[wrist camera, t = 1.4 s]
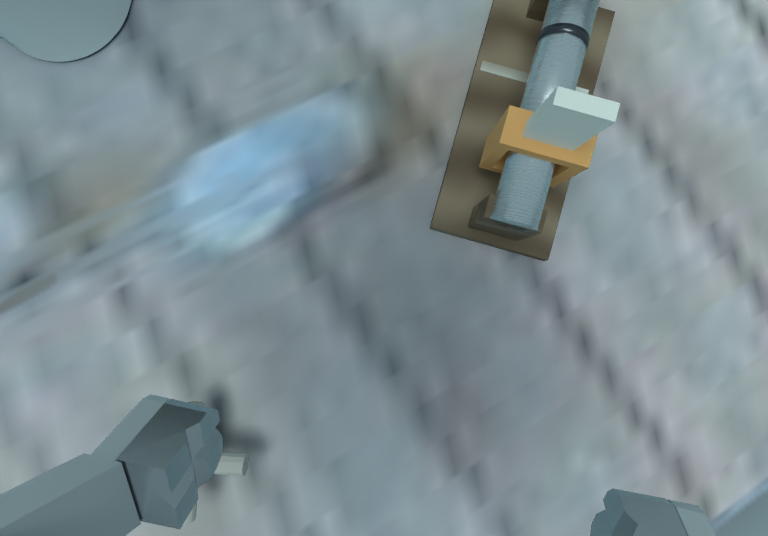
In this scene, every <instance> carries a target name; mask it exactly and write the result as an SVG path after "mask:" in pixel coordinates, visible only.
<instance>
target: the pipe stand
mask: <svg viewBox="0 0 768 536" xmlns="http://www.w3.org/2000/svg"><path fill="white" fill-rule="evenodd" d="M548 3H549V0H493V4H492V7H491V11H490V14H489V18H488V22H487V25H486V29H485V32H484V36H483V39H482V43H481V47H480V50H479V54H478V57H477V61H476V64H475V68H474V72H473V75H472V79H471V82H470V86H469V90H468V93H467V97H466V100H465V104H464V107H463V111H462V115H461V118H460V122H459V125H458V129H457V133H456V136H455V140H454V143H453V147H452V150H451V154H450V158H449V161H448V165H447V168H446V172H445V175H444V179H443V183H442V186H441V190H440V193H439V197H438V201H437V204H436V208H435V211H434V215H433V218H432V222H431V226H430V229H433V230H436V231H440V232H443V233H447V234H450V235H454V236H457V237H461V238H465V239H468V240H472V241H475V242H479V243H482V244H486V245H489V246H493V247H497V248H500V249H504V250H507V251H511V252H514V253H518V254H521V255H525V256H529V257H532V258H536V259H539V260H543V261H545V260H548V259H549V255H550V251H551V247H552V244H553V240H554V236H555V233H556V229H557V225H558V221H559V218H560V214H561V210H562V207H563V203H564V199H565V195H566V192H567V188H568V184H569V181H570V178H569V179H568V180H566V181H564V182H562V183H560V184H559V185H557V186H555V187H553V188H551V187H549V190H548V193H547V197H546V201H545V204H544V208H543V212H542V216H541V219H540V223H539V227H538V230H537V231H535V232H525V231H518V230H513V229H510V228H511V227H512V228H514V227H515V228H516V229H517V228H519V229H522V230H526V228H522V227H519V226H515V225H512V224H508V223H505V222H501V221H497V220H494V219H490V215H491V212H492V208H493V204H494V201H495V197H496V192H497V188H498V185H499V181H500V177H501V173H498V172H494V171H491V170H487V169H483V168H480V167H479V165H480V161H481V158H482V154H483V150H484V147H485V143H486V140H487V136H488V135H489V133H490V132H491V130H492V129H493V128H494V126H495V125H496V124H497V122H498V121H499V119H500V118H501V117H502V115H503V114H504V112H505V111H506V110H507V108H508V107H509V106H510V105H511V106H515V107H519V108H520V105H521V101H522V97H523V94H524V90H525V86H526V83H527V79H528V76H529V72H530V68H531V65H532V61H533V57H534V54H535V50H536V44H537V41H538V37H539V34H540V32H541V28H542V25H543V21H544V17H545V14H546V10H547V6H548ZM614 14H615V12H614V11H611V10H607V9H603V8H600V7H598V9H597V12H596V16H595V20H594V23H593V27H592V31H591V35H590V41H589V44H588V48H587V51H586V53H585V57H584V60H583V64H582V68H581V71H580V75H579V79H578V83H577V86H576V90H575V91H578V92H581V93H585V94H589V95H593V91H594V88H595V84H596V80H597V77H598V73H599V69H600V65H601V62H602V58H603V54H604V51H605V47H606V43H607V40H608V36H609V32H610V28H611V25H612V21H613V17H614ZM505 225H506V226H505ZM507 226H509V227H510V228H509V227H507ZM508 228H509V229H508Z"/></svg>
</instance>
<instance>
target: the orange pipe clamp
mask: <svg viewBox="0 0 768 536" xmlns="http://www.w3.org/2000/svg"><path fill="white" fill-rule="evenodd" d="M619 106H620V103H617V102H614V101H610V100H606V99H603V98H599V97H596V96H592V95H589V94H585V93H581V92H578V91H574V90H571V89H567V88H563V87H560V86H557V87H556V89H555V90H554V91H553V92H552V93H551V94H550V95H549V96H548V98H547V99H546V100H545V101H544V102H543V103H542V104H541V105H540V106H539V108H538V109H537V110H536V111H535V112H533V111H529V110H526V109H522V108H519V107H515V106H511V105H510V106H509V107H508V108H507V110H506V111H505V112H504V114H503V115H502V117H501V118H500V119H499V121H498V122H497V124H496V125H495V126H494V128H493V129H492V130H491V132H490V133H489V135H488V136H487V140H486V143H485V147H484V150H483V154H482V158H481V161H480V165H479V167H480V168H483V169H487V170H491V171H494V172H498V173H501V174H502V170H503V167H504V163H505V159H506V156H507V152H508V150H509V151H513V152H516V153H520V154H523V155H527V156H530V157H534V158H538V159H541V160H545V161H548V162H552V163H555V168H554V171H553V175H552V179H551V182H550V186H549V187H551V188H553V187H555V186H557V185H559V184H560V183H562V182H564V181H566V180H568V179H569V178H571V177H573V176H575V175H577V174H578V173H580V172H582V171H584V170H586V169H588V168H589V165H590V162H591V158H592V154H593V150H594V147H595V143H596V139H597V135H598V133H600V132H601V131H603V130H604V129H606V128H607V127H608V126H610V125H611V124H613V123H614V122H615V121H616V117H617V113H618V110H619Z"/></svg>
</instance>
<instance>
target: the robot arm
mask: <svg viewBox="0 0 768 536" xmlns="http://www.w3.org/2000/svg"><path fill="white" fill-rule="evenodd" d="M131 1H132V0H0V37H2V38H4V39H5V40H7V41H8V42H10V43H11V44H12V45H13V46H15V47H16V48H17V49H19V50H20V51H22V52H24V53H25V54H27V55H29V56H32V57H34V58H37V59H41V60H45V61H52V62H65V61H72V60H77V59H80V58H83V57H86V56H88V55H91V54H93V53H94V52H96V51H98V50H99V49H101V48H102V47H104V46H105V45H106V44H107V43H108V42H109V41H110V40H111V39H112V38H113V37H114V36H115V35H116V34H117V32H118V31H119V30H120V28H121V27H122V25H123V23H124V21H125V19H126V17H127V14H128V11H129V8H130V4H131ZM219 421H220V419H219V414H218V410H217V409H213V408H209V407H204V406H200V405H196V404H192V403H187V402H183V401H179V400H174V399H170V398H165V397H160V396H156V395H149V396H147V397H145V398H143V399H142V400H141V401H140V402H139V403H138V404H137V406H136V407H135V408H134V409H133V410H132V411H131V412H130V413H129V414H128V415H127V416H126V417H125V418H124V419H123V421H122V422H121V423H120V424H119V425H118V426H117V427H116V428H115V429H114V430H113V431H112V432H111V433H110V434H109V436H108V437H107V438H106V439H105V440H104V441H103V442H102V443H101V444H100V445H99V446H98V447H97V448H96V449H95V451H94V452H93V453H92V454H91V455H89V454H82V455H80V456H78V457H76V458H74V459H72V460H70V461H68V462H66V463H64V464H62V465H60V466H58V467H55V468H53V469H51V470H49V471H47V472H45V473H43V474H41V475H39V476H37V477H35V478H33V479H31V480H29V481H27V482H25V483H23V484H21V485H19V486H17V487H15V488H13V489H11V490H9V491H7V492H5V493H3V494H1V495H0V536H125V535H127V534H128V533H129V532H131V531H132V530H133V529H135V528H136V527H137V526H139V525H140V524H141V522H140V521H143V522H148V523H152V524H157V525H162V526H167V527H172V528H176V529H180V528H181V527H182V525H183V524H184V522H185V520H186V519H187V517H188V515H189V514H190V512H191V510H192V509H193V507H194V505H195V504H196V502H197V501H198V487H199V486H201V485H202V484H204V483H206V482H207V481H209V480H210V479H211V477H212V475H213V474H214V472H215V470H216V469H217V466H218V464H219V461H220V458H221V455H222V449H223V438H222V435H221V433H220V432H219V431H218V430H217V429H216V428H215V427H216V426H217V424H218V423H219ZM603 501H604V505H605V509H606V510H603V511H601V512H599V513H597V514H596V515H595V518H594V520H593V522H592V525H591V533H590V536H716V535H715V533H714V531H713V529H712V527H711V525H710V523H709V521H708V519H707V517H706V515H705V513H704V511H703V510H702V509H701V508H700V507H699V506H697V505H692V504H687V503H682V502H677V501H672V500H666V499H665V498H660V497H655V496H650V495H644V494H639V493H634V492H628V491H623V490H618V489H611V490H609V491H607V493H606V495H605V497H604V499H603Z"/></svg>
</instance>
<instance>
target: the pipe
mask: <svg viewBox="0 0 768 536" xmlns="http://www.w3.org/2000/svg"><path fill="white" fill-rule="evenodd" d="M599 1H600V0H549V3H548V6H547V10H546V14H545V17H544V21H543V25H542V28H541V32H540V34H539V37H538V41H537V44H536V50H535V54H534V57H533V61H532V65H531V68H530V72H529V76H528V79H527V83H526V86H525V90H524V94H523V97H522V101H521V105H520V108H522V109H526V110H529V111H533V112H535V111H536V110H537V109H538V108H539V106H540V105H541V104H542V103H543V102H544V101H545V100H546V99H547V98H548V96H549V95H550V94H551V93H552V92H553V91H554V90H555V89H556V87H557V86H560V87H563V88H567V89H571V90H574V91H575V90H576V86H577V83H578V79H579V75H580V71H581V68H582V64H583V60H584V57H585V53H586V51H587V48H588V44H589V41H590V35H591V31H592V27H593V23H594V20H595V16H596V12H597V9H598V5H599ZM554 168H555V163H552V162H548V161H545V160H541V159H538V158H534V157H530V156H527V155H523V154H520V153H516V152H513V151H509V150H508V152H507V156H506V159H505V163H504V167H503V170H502V174H501V177H500V181H499V185H498V188H497V192H496V197H495V201H494V204H493V208H492V212H491V215H490V219H494V220H497V221H501V222H505V223H508V224H512V225H515V226H519V227H522V228H526V230H522V229H519V228H517V229H516V228H515V227H514V228H512V227H511V228H510V227H509V226H507V227H509V228H510V229H513V230H518V231H525V232H535V231H537V230H538V227H539V223H540V219H541V216H542V212H543V208H544V204H545V201H546V197H547V193H548V190H549V186H550V182H551V179H552V175H553V171H554ZM505 226H506V225H505ZM509 228H508V229H509Z"/></svg>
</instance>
